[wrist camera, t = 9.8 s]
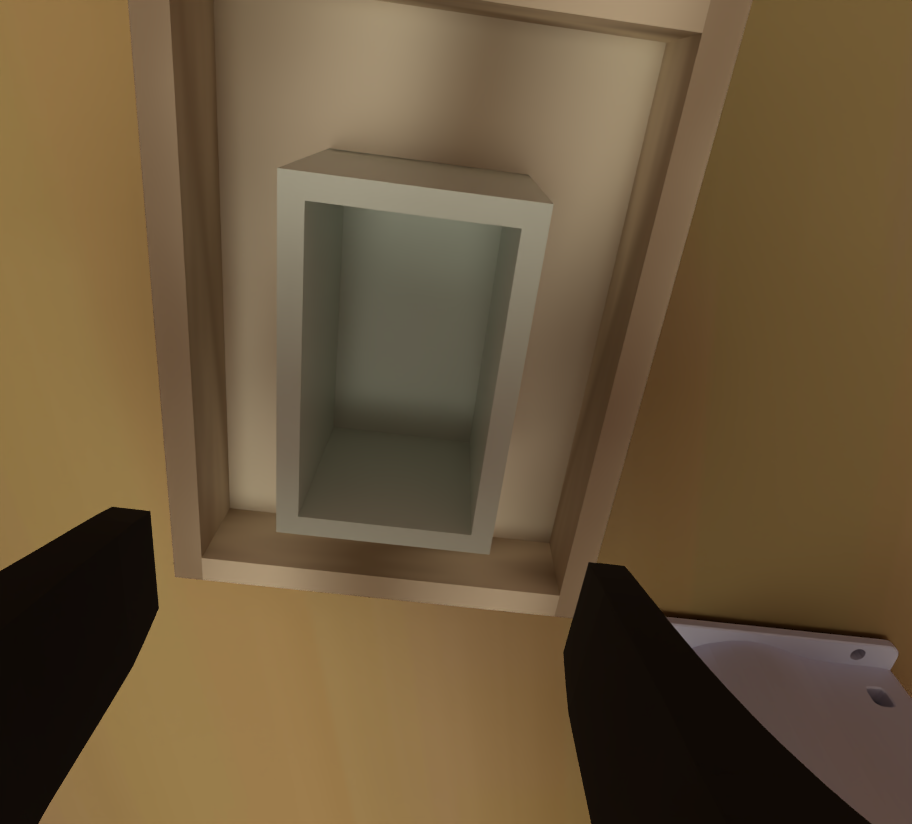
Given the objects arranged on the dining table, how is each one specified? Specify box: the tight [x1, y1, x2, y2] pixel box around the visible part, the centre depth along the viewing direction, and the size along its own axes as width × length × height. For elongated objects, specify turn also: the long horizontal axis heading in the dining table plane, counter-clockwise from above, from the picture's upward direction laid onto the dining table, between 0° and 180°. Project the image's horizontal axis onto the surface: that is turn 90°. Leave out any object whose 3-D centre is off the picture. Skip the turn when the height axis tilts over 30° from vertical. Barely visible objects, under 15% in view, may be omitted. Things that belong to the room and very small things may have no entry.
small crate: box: [276, 148, 554, 555], centre depth 16 cm, size 5×8×5 cm, turn 173°
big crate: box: [128, 0, 753, 618], centre depth 17 cm, size 12×16×3 cm
